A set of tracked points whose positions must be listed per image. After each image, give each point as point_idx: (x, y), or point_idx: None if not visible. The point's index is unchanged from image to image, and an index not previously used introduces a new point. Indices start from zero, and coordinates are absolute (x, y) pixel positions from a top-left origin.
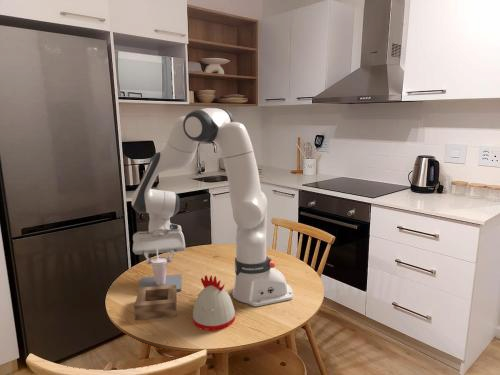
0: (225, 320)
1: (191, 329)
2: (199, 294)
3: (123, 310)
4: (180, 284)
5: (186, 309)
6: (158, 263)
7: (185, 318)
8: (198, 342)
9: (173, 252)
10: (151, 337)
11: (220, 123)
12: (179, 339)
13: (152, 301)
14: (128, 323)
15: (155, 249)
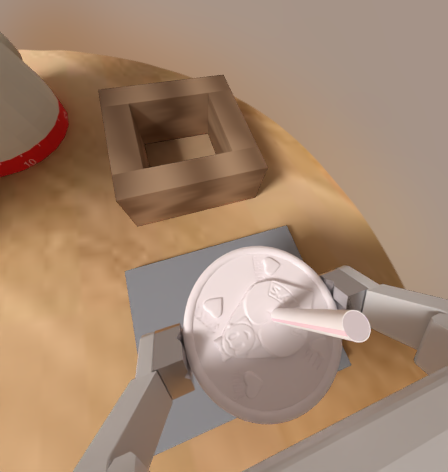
0: None
1: (70, 91)
2: None
3: (273, 149)
4: (134, 313)
5: (91, 162)
6: (239, 252)
7: (90, 126)
8: (51, 60)
9: (79, 462)
10: (158, 71)
11: None
12: (95, 67)
13: (177, 93)
14: None
15: (406, 395)
